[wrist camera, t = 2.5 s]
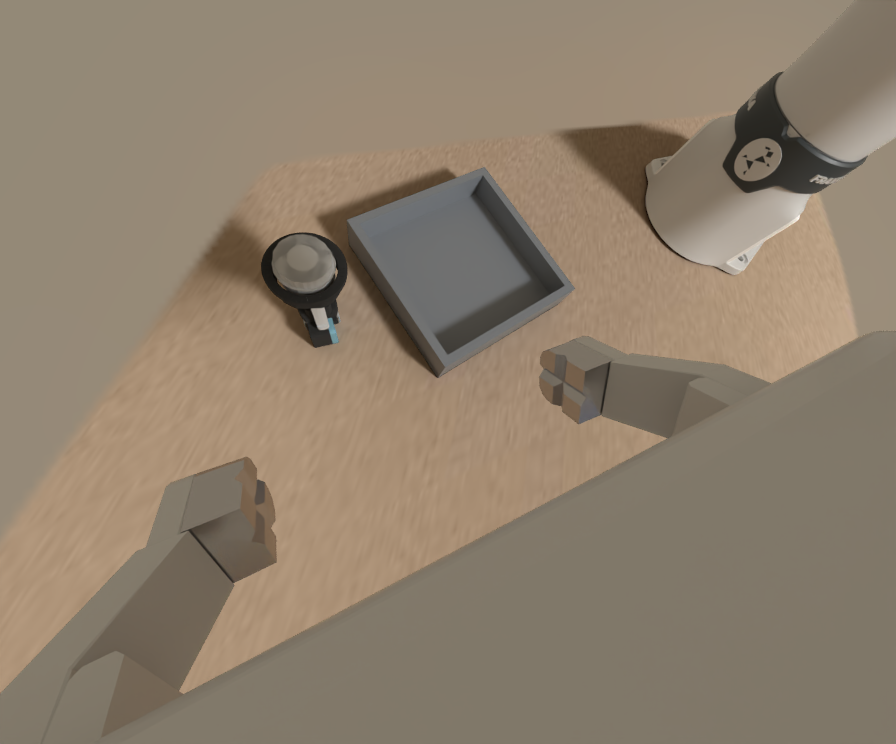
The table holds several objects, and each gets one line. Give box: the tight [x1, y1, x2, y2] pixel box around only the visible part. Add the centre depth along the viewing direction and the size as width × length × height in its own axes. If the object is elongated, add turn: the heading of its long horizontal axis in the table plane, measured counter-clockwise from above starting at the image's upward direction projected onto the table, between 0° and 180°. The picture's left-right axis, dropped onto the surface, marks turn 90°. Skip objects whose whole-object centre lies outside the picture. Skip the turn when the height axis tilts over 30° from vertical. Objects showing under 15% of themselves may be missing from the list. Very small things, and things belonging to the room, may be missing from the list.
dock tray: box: [347, 167, 575, 378], centre depth 34 cm, size 16×16×4 cm
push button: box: [261, 233, 347, 348], centre depth 27 cm, size 7×5×10 cm
